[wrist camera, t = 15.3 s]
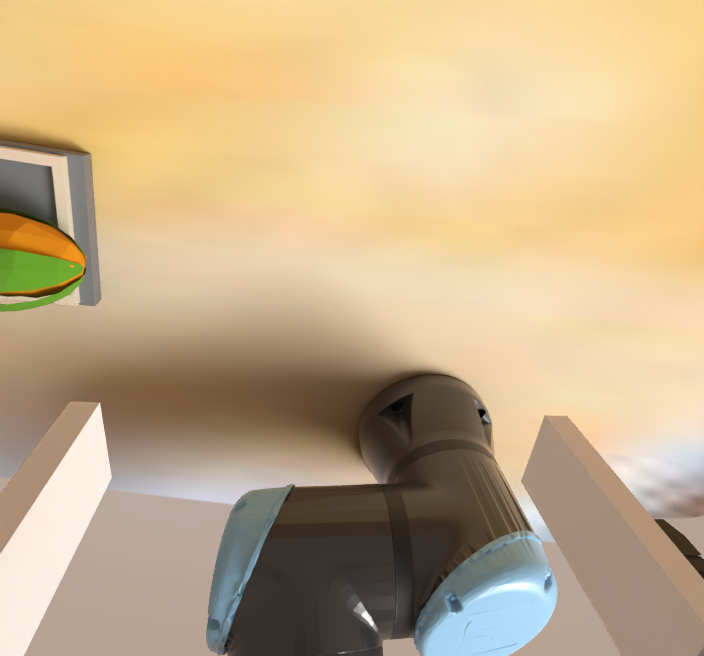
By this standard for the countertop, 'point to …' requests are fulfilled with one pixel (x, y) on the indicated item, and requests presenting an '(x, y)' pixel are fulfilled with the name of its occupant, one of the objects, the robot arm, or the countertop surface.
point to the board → (54, 202)
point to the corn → (37, 260)
